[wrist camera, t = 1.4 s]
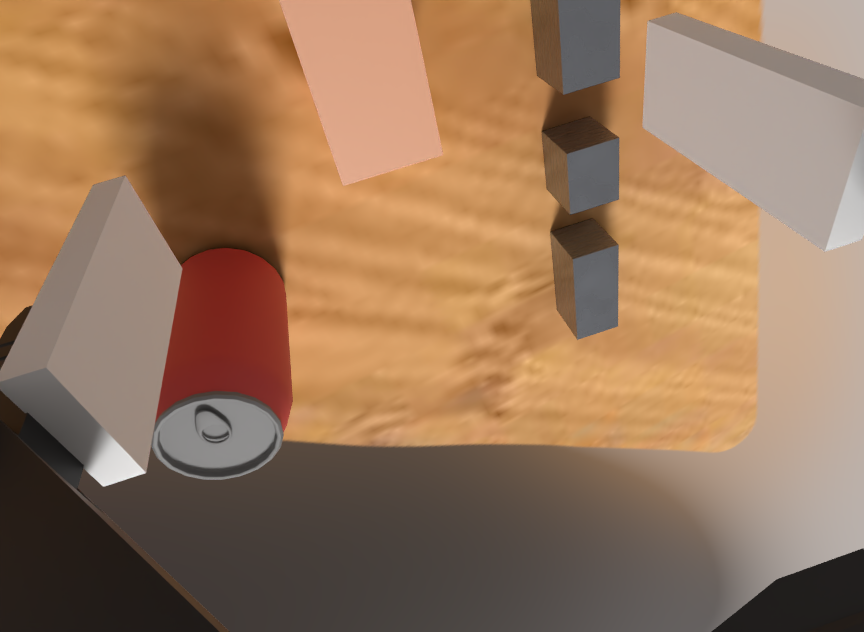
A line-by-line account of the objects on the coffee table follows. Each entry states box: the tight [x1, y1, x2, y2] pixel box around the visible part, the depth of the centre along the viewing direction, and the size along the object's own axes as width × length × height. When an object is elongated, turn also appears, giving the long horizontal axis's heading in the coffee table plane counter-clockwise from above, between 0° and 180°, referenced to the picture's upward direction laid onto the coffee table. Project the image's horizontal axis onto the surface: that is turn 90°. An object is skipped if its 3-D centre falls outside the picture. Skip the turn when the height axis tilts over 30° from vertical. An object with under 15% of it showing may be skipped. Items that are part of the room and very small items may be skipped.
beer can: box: [151, 248, 293, 479], centre depth 30 cm, size 7×7×12 cm
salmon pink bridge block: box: [279, 0, 443, 186], centre depth 24 cm, size 10×4×8 cm, turn 12°
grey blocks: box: [531, 0, 620, 340], centre depth 33 cm, size 24×3×4 cm, turn 12°
